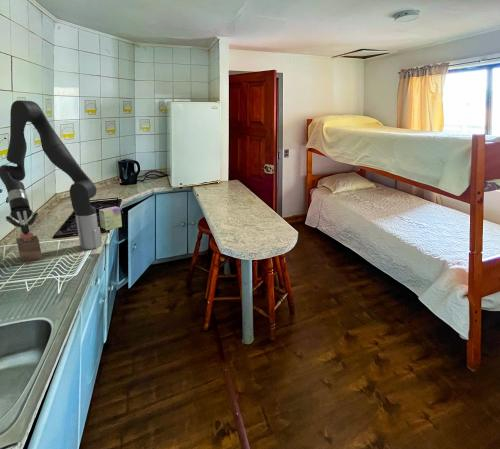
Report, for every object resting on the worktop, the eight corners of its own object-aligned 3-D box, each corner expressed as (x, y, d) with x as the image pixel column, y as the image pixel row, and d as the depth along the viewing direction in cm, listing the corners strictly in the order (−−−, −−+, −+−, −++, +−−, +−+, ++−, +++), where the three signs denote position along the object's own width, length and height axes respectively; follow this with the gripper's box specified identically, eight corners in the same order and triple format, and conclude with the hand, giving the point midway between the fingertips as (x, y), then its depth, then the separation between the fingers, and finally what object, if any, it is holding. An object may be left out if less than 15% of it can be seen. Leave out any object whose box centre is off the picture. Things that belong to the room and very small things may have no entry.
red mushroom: (23, 253, 156) (19, 233, 153) (35, 250, 158) (32, 231, 156) (24, 256, 152) (20, 236, 149) (37, 254, 155) (33, 234, 152)
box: (117, 224, 205) (115, 206, 201) (122, 226, 201) (120, 207, 198) (100, 228, 197) (98, 209, 193) (105, 230, 194) (103, 211, 190)
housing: (20, 256, 156) (16, 238, 154) (40, 253, 161) (36, 235, 158) (21, 262, 150) (17, 243, 148) (42, 258, 155) (38, 240, 152)
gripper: (0, 198, 151) (7, 231, 145) (34, 195, 159) (42, 226, 153) (2, 207, 157) (9, 239, 151) (35, 203, 164) (43, 234, 159)
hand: (26, 233), depth 152 cm, fingers closed
